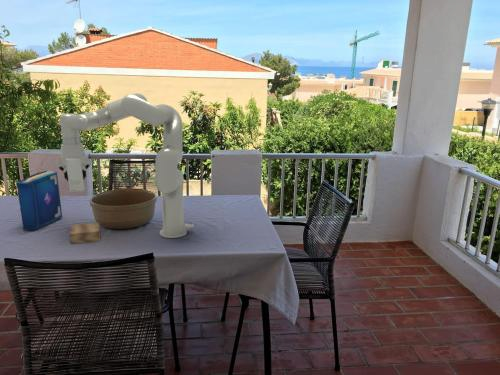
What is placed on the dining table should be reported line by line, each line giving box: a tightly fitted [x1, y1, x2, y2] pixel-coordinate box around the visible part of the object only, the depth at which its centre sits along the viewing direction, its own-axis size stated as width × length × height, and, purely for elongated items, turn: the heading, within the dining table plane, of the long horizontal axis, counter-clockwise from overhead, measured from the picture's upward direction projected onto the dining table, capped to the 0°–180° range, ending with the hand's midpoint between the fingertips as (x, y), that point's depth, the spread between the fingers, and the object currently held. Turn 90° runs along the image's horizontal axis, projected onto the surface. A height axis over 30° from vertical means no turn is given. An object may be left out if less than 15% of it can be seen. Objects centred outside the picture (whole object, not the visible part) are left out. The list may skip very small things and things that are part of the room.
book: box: [15, 170, 63, 232], centre depth 198 cm, size 22×7×25 cm, turn 168°
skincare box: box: [66, 158, 85, 193], centre depth 190 cm, size 8×7×16 cm
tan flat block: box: [69, 222, 101, 245], centre depth 186 cm, size 12×12×5 cm
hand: (75, 179), depth 190 cm, fingers closed on skincare box, 6 cm apart
